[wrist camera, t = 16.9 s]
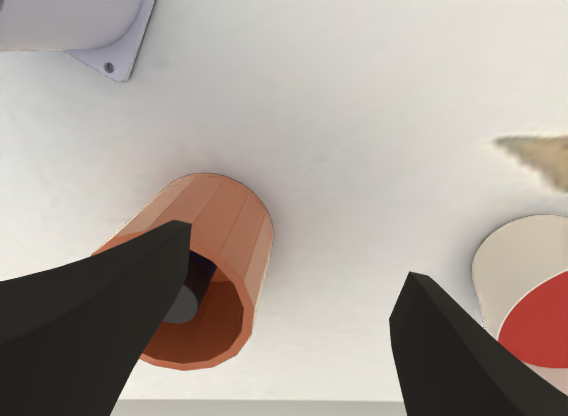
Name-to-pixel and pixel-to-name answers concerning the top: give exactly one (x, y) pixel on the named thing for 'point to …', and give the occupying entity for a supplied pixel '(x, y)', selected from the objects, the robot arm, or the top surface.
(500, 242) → the candle
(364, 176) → the top surface
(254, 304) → the pen pot
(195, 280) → the glue stick
